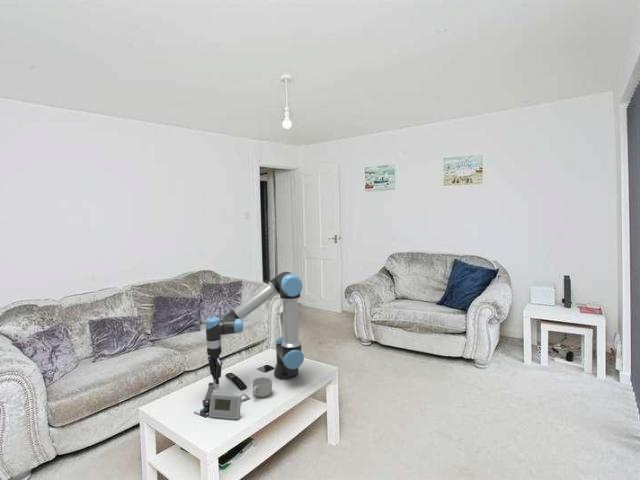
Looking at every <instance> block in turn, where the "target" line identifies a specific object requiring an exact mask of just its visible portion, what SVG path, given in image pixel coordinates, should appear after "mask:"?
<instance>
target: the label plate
mask: <svg viewBox="0 0 640 480" xmlns="http://www.w3.org/2000/svg"><path fill="white" fill-rule="evenodd" d="M240 395H241V403H243V402H246V401H249V400H251V397H250V396H249V395H247V394H246V393H244V394H240Z"/></svg>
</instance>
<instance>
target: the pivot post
mask: <svg viewBox="0 0 640 480" xmlns="http://www.w3.org/2000/svg"><path fill="white" fill-rule="evenodd" d="M209 409H210V406H206V407H205V406H203V409H201V410H200V411H199V415H200V416H201V417H204V416H206V417H210V416H209Z"/></svg>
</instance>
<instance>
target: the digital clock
mask: <svg viewBox="0 0 640 480" xmlns="http://www.w3.org/2000/svg"><path fill="white" fill-rule="evenodd" d="M241 395H242V394H235V393H223V392H220V393H218V392H213V393H212V394H211V401H210V409H209V416H208V417H209V418H215V419H224V420H239V419H240V417H241V409H242V407H241V406H242V402H241Z"/></svg>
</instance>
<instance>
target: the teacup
mask: <svg viewBox="0 0 640 480" xmlns="http://www.w3.org/2000/svg"><path fill="white" fill-rule="evenodd" d="M272 389H273V379H272V378H271V377H269V376H259V377H255V378H254V379H253V380H252V394H253V395H255V396H257V397H258V398H265V397H267V396H269V395H270V394H271V393H272Z"/></svg>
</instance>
